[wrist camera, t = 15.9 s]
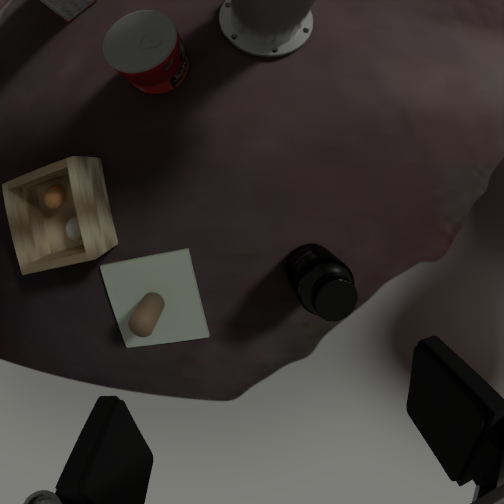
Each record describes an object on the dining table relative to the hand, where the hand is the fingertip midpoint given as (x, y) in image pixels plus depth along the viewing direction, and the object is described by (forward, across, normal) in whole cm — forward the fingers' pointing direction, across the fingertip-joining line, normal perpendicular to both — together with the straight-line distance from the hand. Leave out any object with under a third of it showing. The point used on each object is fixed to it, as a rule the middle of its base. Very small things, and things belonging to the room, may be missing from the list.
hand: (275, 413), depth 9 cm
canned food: (+34, +7, -23) cm, 41 cm away
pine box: (+33, +23, -7) cm, 41 cm away
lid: (+34, +14, +8) cm, 37 cm away
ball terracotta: (+32, +24, -10) cm, 41 cm away
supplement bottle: (+34, -8, +7) cm, 35 cm away
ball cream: (+32, +22, -4) cm, 39 cm away
